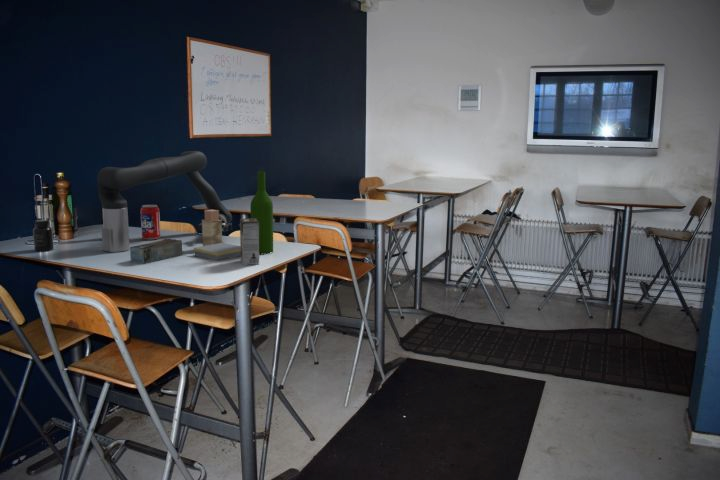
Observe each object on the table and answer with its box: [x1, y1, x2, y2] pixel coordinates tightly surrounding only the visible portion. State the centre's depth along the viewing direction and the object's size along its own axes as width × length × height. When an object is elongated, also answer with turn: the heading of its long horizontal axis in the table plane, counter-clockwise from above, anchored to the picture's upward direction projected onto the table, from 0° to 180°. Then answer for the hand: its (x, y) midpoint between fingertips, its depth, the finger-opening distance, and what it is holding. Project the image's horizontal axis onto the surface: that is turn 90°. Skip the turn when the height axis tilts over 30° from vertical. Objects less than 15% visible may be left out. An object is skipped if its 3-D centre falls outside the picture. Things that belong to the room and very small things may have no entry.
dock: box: [193, 242, 241, 261], centre depth 230 cm, size 14×14×3 cm
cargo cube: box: [204, 209, 219, 221], centre depth 240 cm, size 4×4×4 cm
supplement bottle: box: [32, 219, 54, 252], centre depth 233 cm, size 7×7×12 cm
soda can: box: [140, 204, 161, 241], centre depth 260 cm, size 8×8×15 cm
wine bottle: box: [250, 171, 274, 254], centre depth 235 cm, size 9×9×32 cm
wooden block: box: [201, 219, 223, 246], centre depth 242 cm, size 6×6×12 cm
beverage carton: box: [129, 238, 183, 265], centre depth 223 cm, size 8×19×7 cm, turn 150°
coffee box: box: [239, 217, 260, 266], centre depth 218 cm, size 9×6×16 cm
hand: (214, 229), depth 250 cm, fingers open, 8 cm apart
